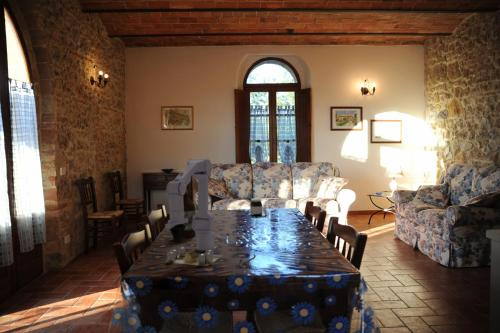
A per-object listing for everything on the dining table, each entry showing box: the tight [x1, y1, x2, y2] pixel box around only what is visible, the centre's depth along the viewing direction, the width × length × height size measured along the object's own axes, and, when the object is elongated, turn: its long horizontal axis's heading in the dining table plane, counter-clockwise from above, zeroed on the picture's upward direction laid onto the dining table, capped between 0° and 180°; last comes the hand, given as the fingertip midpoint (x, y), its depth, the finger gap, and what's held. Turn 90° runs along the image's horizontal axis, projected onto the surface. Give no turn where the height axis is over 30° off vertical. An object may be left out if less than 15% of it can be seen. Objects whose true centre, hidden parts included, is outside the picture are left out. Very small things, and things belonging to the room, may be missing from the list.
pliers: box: [239, 253, 257, 269], centre depth 175 cm, size 10×1×20 cm
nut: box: [186, 251, 197, 262], centre depth 173 cm, size 4×5×3 cm
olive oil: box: [182, 190, 196, 239], centre depth 224 cm, size 11×11×25 cm
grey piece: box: [166, 246, 214, 266], centre depth 173 cm, size 12×20×4 cm, turn 69°
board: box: [165, 252, 224, 267], centre depth 176 cm, size 16×20×1 cm
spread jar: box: [249, 197, 268, 217], centre depth 284 cm, size 12×11×12 cm
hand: (177, 243), depth 167 cm, fingers closed
